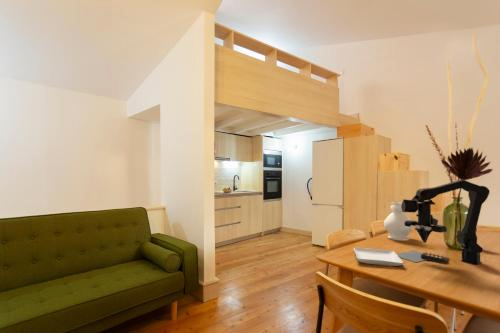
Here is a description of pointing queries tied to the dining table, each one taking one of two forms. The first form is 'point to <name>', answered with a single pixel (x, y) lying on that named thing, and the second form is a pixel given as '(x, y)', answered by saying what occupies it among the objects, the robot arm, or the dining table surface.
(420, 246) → the dining table surface
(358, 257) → the salad plate
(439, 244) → the dining table surface
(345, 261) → the dining table surface
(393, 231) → the decorative vase
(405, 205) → the robot arm
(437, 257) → the ammunition clip
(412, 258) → the mat
